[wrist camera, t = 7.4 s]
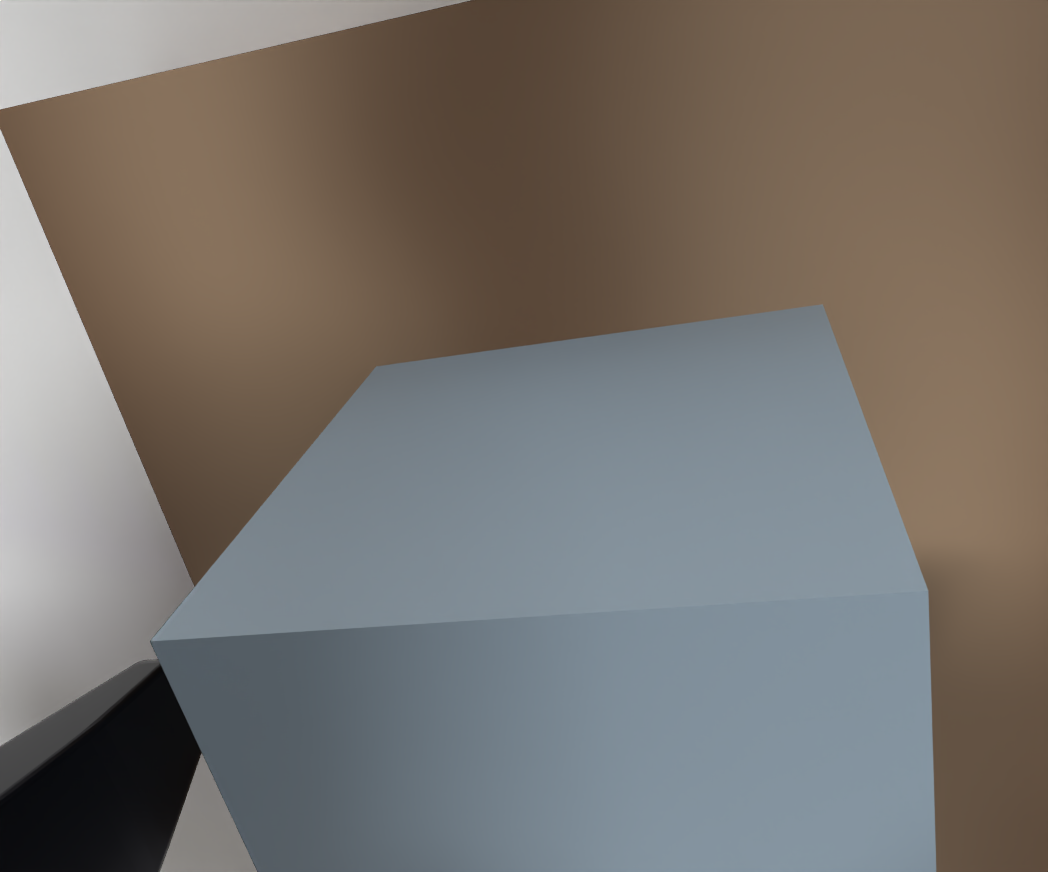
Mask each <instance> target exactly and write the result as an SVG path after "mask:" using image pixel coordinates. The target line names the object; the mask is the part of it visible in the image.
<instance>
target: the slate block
mask: <svg viewBox="0 0 1048 872" xmlns="http://www.w3.org/2000/svg"><path fill="white" fill-rule="evenodd" d="M150 643H151V645H152V647H153V649H154V651H155V653H156V655H157V658H158V660H159V662H160V664H161V666H162V668H163V670H164V673H165V675H166V677H167V679H168V681H169V683H170V685H171V688H172V690H173V692H174V694H175V696H176V698H177V700H178V703H179V705H180V707H181V709H182V711H183V713H184V715H185V718H186V720H187V722H188V724H189V726H190V728H191V730H192V733H193V735H194V737H195V739H196V741H197V743H198V745H199V748H200V750H201V752H202V754H203V756H204V758H205V760H206V762H207V765H208V767H209V769H210V771H211V773H212V775H213V777H214V780H215V782H216V784H217V786H218V788H219V790H220V792H221V795H222V797H223V799H224V801H225V803H226V805H227V807H228V810H229V812H230V814H231V816H232V818H233V820H234V822H235V825H236V827H237V829H238V831H239V833H240V835H241V837H242V840H243V842H244V844H245V846H246V848H247V850H248V852H249V855H250V857H251V859H252V861H253V863H254V865H255V867H256V870H257V872H936V842H935V807H934V772H933V737H932V702H931V666H930V631H929V596H928V589H927V586H926V583H925V580H924V578H923V575H922V572H921V570H920V567H919V564H918V561H917V559H916V556H915V553H914V551H913V548H912V545H911V542H910V540H909V537H908V534H907V532H906V529H905V526H904V523H903V521H902V518H901V515H900V513H899V510H898V507H897V504H896V502H895V499H894V496H893V494H892V491H891V488H890V485H889V483H888V480H887V477H886V475H885V472H884V469H883V466H882V464H881V461H880V458H879V456H878V453H877V450H876V447H875V445H874V442H873V439H872V437H871V434H870V431H869V428H868V426H867V423H866V420H865V418H864V415H863V412H862V409H861V407H860V404H859V401H858V399H857V396H856V393H855V390H854V388H853V385H852V382H851V380H850V377H849V374H848V371H847V369H846V366H845V363H844V361H843V358H842V355H841V352H840V350H839V347H838V344H837V342H836V339H835V336H834V333H833V331H832V328H831V325H830V323H829V320H828V317H827V314H826V312H825V309H824V306H823V304H821V305H814V306H807V307H800V308H793V309H785V310H778V311H771V312H764V313H757V314H749V315H742V316H735V317H728V318H721V319H714V320H706V321H699V322H692V323H685V324H678V325H670V326H663V327H656V328H649V329H642V330H634V331H627V332H620V333H613V334H606V335H598V336H591V337H584V338H577V339H570V340H563V341H555V342H548V343H541V344H534V345H527V346H519V347H512V348H505V349H498V350H491V351H483V352H476V353H469V354H462V355H455V356H447V357H440V358H433V359H426V360H419V361H412V362H404V363H397V364H390V365H383V366H376V367H375V369H374V370H373V371H372V372H371V373H370V375H369V376H368V377H367V378H366V379H365V381H364V382H363V383H362V384H361V386H360V387H359V388H358V389H357V390H356V392H355V393H354V394H353V395H352V396H351V398H350V399H349V400H348V401H347V403H346V404H345V405H344V406H343V407H342V409H341V410H340V411H339V412H338V413H337V415H336V416H335V417H334V418H333V420H332V421H331V422H330V423H329V424H328V426H327V427H326V428H325V429H324V431H323V432H322V433H321V434H320V435H319V437H318V438H317V439H316V440H315V441H314V443H313V444H312V445H311V446H310V448H309V449H308V450H307V451H306V452H305V454H304V455H303V456H302V457H301V458H300V460H299V461H298V462H297V463H296V465H295V466H294V467H293V468H292V469H291V471H290V472H289V473H288V474H287V475H286V477H285V478H284V479H283V480H282V482H281V483H280V484H279V485H278V486H277V488H276V489H275V490H274V491H273V492H272V494H271V495H270V496H269V497H268V499H267V500H266V501H265V502H264V503H263V505H262V506H261V507H260V508H259V509H258V511H257V512H256V513H255V514H254V516H253V517H252V518H251V519H250V520H249V522H248V523H247V524H246V525H245V526H244V528H243V529H242V530H241V531H240V533H239V534H238V535H237V536H236V537H235V539H234V540H233V541H232V542H231V544H230V545H229V546H228V547H227V548H226V550H225V551H224V552H223V553H222V554H221V556H220V557H219V558H218V559H217V561H216V562H215V563H214V564H213V565H212V567H211V568H210V569H209V570H208V571H207V573H206V574H205V575H204V576H203V578H202V579H201V580H200V581H199V582H198V584H197V585H196V586H195V587H194V588H193V590H192V591H191V592H190V593H189V595H188V596H187V597H186V598H185V599H184V601H183V602H182V603H181V604H180V605H179V607H178V608H177V609H176V610H175V612H174V613H173V614H172V615H171V616H170V618H169V619H168V620H167V621H166V622H165V624H164V625H163V626H162V627H161V629H160V630H159V631H158V632H157V633H156V635H155V636H154V637H153V638H152V640H151V641H150Z"/></svg>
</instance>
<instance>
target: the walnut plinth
mask: <svg viewBox="0 0 1048 872" xmlns="http://www.w3.org/2000/svg"><path fill="white" fill-rule="evenodd" d="M0 129H1V131H2V134H3V136H4V138H5V141H6V143H7V145H8V148H9V150H10V152H11V155H12V157H13V160H14V162H15V164H16V167H17V169H18V171H19V174H20V176H21V178H22V181H23V183H24V186H25V188H26V190H27V193H28V195H29V197H30V200H31V202H32V204H33V207H34V209H35V211H36V214H37V216H38V219H39V221H40V223H41V226H42V228H43V230H44V233H45V235H46V237H47V240H48V242H49V245H50V247H51V249H52V252H53V254H54V256H55V259H56V261H57V263H58V266H59V268H60V270H61V273H62V275H63V278H64V280H65V282H66V285H67V287H68V289H69V292H70V294H71V296H72V299H73V301H74V304H75V306H76V308H77V311H78V313H79V315H80V318H81V320H82V322H83V325H84V327H85V329H86V332H87V334H88V337H89V339H90V341H91V344H92V346H93V348H94V351H95V353H96V355H97V358H98V360H99V362H100V365H101V367H102V370H103V372H104V374H105V377H106V379H107V381H108V384H109V386H110V388H111V391H112V393H113V396H114V398H115V400H116V403H117V405H118V407H119V410H120V412H121V414H122V417H123V419H124V421H125V424H126V426H127V429H128V431H129V433H130V436H131V438H132V440H133V443H134V445H135V447H136V450H137V452H138V455H139V457H140V459H141V462H142V464H143V466H144V469H145V471H146V473H147V476H148V478H149V480H150V483H151V485H152V488H153V490H154V492H155V495H156V497H157V499H158V502H159V504H160V506H161V509H162V511H163V514H164V516H165V518H166V521H167V523H168V525H169V528H170V530H171V532H172V535H173V537H174V539H175V542H176V544H177V547H178V549H179V551H180V554H181V556H182V558H183V561H184V563H185V565H186V568H187V570H188V572H189V575H190V577H191V580H192V582H193V584H194V587H195V586H196V585H197V584H198V582H199V581H200V580H201V579H202V578H203V576H204V575H205V574H206V573H207V571H208V570H209V569H210V568H211V567H212V565H213V564H214V563H215V562H216V561H217V559H218V558H219V557H220V556H221V554H222V553H223V552H224V551H225V550H226V548H227V547H228V546H229V545H230V544H231V542H232V541H233V540H234V539H235V537H236V536H237V535H238V534H239V533H240V531H241V530H242V529H243V528H244V526H245V525H246V524H247V523H248V522H249V520H250V519H251V518H252V517H253V516H254V514H255V513H256V512H257V511H258V509H259V508H260V507H261V506H262V505H263V503H264V502H265V501H266V500H267V499H268V497H269V496H270V495H271V494H272V492H273V491H274V490H275V489H276V488H277V486H278V485H279V484H280V483H281V482H282V480H283V479H284V478H285V477H286V475H287V474H288V473H289V472H290V471H291V469H292V468H293V467H294V466H295V465H296V463H297V462H298V461H299V460H300V458H301V457H302V456H303V455H304V454H305V452H306V451H307V450H308V449H309V448H310V446H311V445H312V444H313V443H314V441H315V440H316V439H317V438H318V437H319V435H320V434H321V433H322V432H323V431H324V429H325V428H326V427H327V426H328V424H329V423H330V422H331V421H332V420H333V418H334V417H335V416H336V415H337V413H338V412H339V411H340V410H341V409H342V407H343V406H344V405H345V404H346V403H347V401H348V400H349V399H350V398H351V396H352V395H353V394H354V393H355V392H356V390H357V389H358V388H359V387H360V386H361V384H362V383H363V382H364V381H365V379H366V378H367V377H368V376H369V375H370V373H371V372H372V371H373V370H374V369H375V367H376V366H383V365H390V364H397V363H404V362H412V361H419V360H426V359H433V358H440V357H447V356H455V355H462V354H469V353H476V352H483V351H491V350H498V349H505V348H512V347H519V346H527V345H534V344H541V343H548V342H555V341H563V340H570V339H577V338H584V337H591V336H598V335H606V334H613V333H620V332H627V331H634V330H642V329H649V328H656V327H663V326H670V325H678V324H685V323H692V322H699V321H706V320H714V319H721V318H728V317H735V316H742V315H749V314H757V313H764V312H771V311H778V310H785V309H793V308H800V307H807V306H814V305H821V304H823V306H824V309H825V312H826V314H827V317H828V320H829V323H830V325H831V328H832V331H833V333H834V336H835V339H836V342H837V344H838V347H839V350H840V352H841V355H842V358H843V361H844V363H845V366H846V369H847V371H848V374H849V377H850V380H851V382H852V385H853V388H854V390H855V393H856V396H857V399H858V401H859V404H860V407H861V409H862V412H863V415H864V418H865V420H866V423H867V426H868V428H869V431H870V434H871V437H872V439H873V442H874V445H875V447H876V450H877V453H878V456H879V458H880V461H881V464H882V466H883V469H884V472H885V475H886V477H887V480H888V483H889V485H890V488H891V491H892V494H893V496H894V499H895V502H896V504H897V507H898V510H899V513H900V515H901V518H902V521H903V523H904V526H905V529H906V532H907V534H908V537H909V540H910V542H911V545H912V548H913V551H914V553H915V556H916V559H917V561H918V564H919V567H920V570H921V572H922V575H923V578H924V580H925V583H926V586H927V589H928V596H929V631H930V666H931V702H932V737H933V772H934V807H935V842H936V872H1048V0H471V1H467V2H463V3H459V4H454V5H450V6H446V7H441V8H437V9H433V10H428V11H424V12H420V13H415V14H411V15H407V16H402V17H398V18H394V19H389V20H385V21H381V22H376V23H372V24H368V25H363V26H359V27H355V28H351V29H346V30H342V31H338V32H333V33H329V34H325V35H320V36H316V37H312V38H307V39H303V40H299V41H294V42H290V43H286V44H281V45H277V46H273V47H268V48H264V49H260V50H255V51H251V52H247V53H242V54H238V55H234V56H230V57H225V58H221V59H217V60H212V61H208V62H204V63H199V64H195V65H191V66H186V67H182V68H178V69H173V70H169V71H165V72H160V73H156V74H152V75H147V76H143V77H139V78H134V79H130V80H126V81H122V82H117V83H113V84H109V85H104V86H100V87H96V88H91V89H87V90H83V91H78V92H74V93H70V94H65V95H61V96H57V97H52V98H48V99H44V100H39V101H35V102H31V103H26V104H22V105H18V106H14V107H9V108H5V109H1V110H0Z"/></svg>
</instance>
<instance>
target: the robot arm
mask: <svg viewBox="0 0 1048 872" xmlns="http://www.w3.org/2000/svg"><path fill="white" fill-rule="evenodd" d="M201 753H202V752H201V750H200V748H199V745H198V743H197V741H196V739H195V737H194V735H193V733H192V730H191V728H190V726H189V724H188V722H187V720H186V718H185V715H184V713H183V711H182V709H181V707H180V705H179V703H178V700H177V698H176V696H175V694H174V692H173V690H172V688H171V685H170V683H169V681H168V679H167V677H166V675H165V673H164V670H163V668H162V666H161V664H160V662H159V660H158V659H155V660H144V661H140V662H138V663H136V664H134V665H132V666H131V667H129V668H127V669H126V670H124V671H122V672H121V673H119V674H118V675H116V676H114V677H113V678H111V679H109V680H108V681H106V682H105V683H103V684H101V685H100V686H98V687H96V688H95V689H93V690H91V691H90V692H88V693H87V694H85V695H83V696H82V697H80V698H78V699H77V700H75V701H73V702H72V703H70V704H69V705H67V706H65V707H64V708H62V709H60V710H59V711H57V712H56V713H54V714H52V715H51V716H49V717H47V718H46V719H44V720H42V721H41V722H39V723H38V724H36V725H34V726H33V727H31V728H29V729H28V730H26V731H24V732H23V733H21V734H20V735H18V736H16V737H15V738H13V739H11V740H10V741H8V742H7V743H5V744H3V745H2V746H0V872H160V869H161V867H162V864H163V861H164V859H165V856H166V853H167V851H168V848H169V845H170V842H171V839H172V836H173V833H174V831H175V828H176V825H177V822H178V819H179V816H180V813H181V810H182V807H183V805H184V802H185V799H186V796H187V793H188V790H189V787H190V784H191V782H192V779H193V776H194V773H195V770H196V767H197V764H198V761H199V759H200V756H201Z"/></svg>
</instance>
